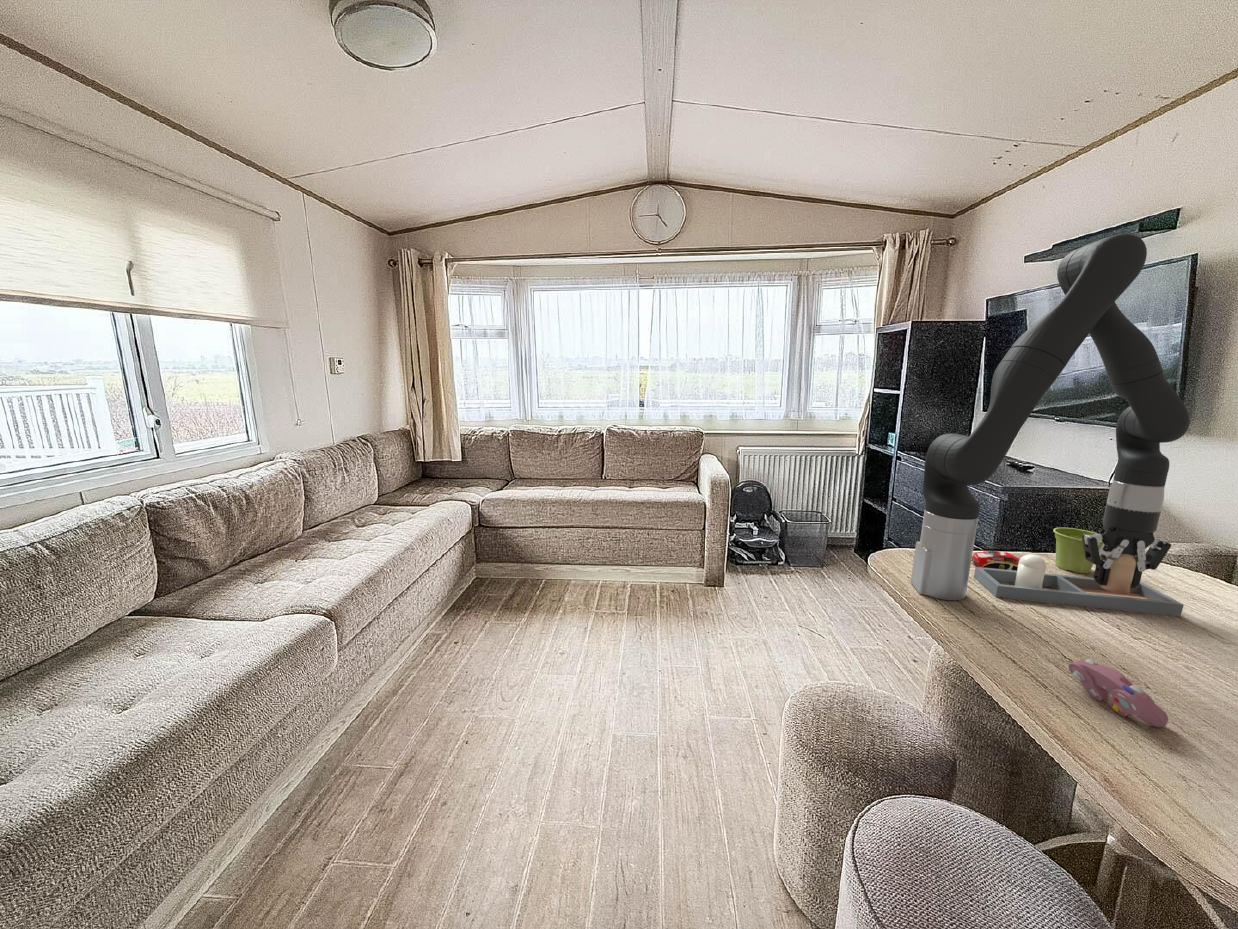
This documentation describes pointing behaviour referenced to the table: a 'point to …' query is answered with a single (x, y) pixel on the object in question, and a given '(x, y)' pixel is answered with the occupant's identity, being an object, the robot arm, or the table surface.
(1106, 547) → the robot arm
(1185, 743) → the table surface
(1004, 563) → the race car
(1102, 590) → the divided rectangular frame
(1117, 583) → the beige capsule
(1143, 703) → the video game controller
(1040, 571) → the white capsule
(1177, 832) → the table surface
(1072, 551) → the plant pot
